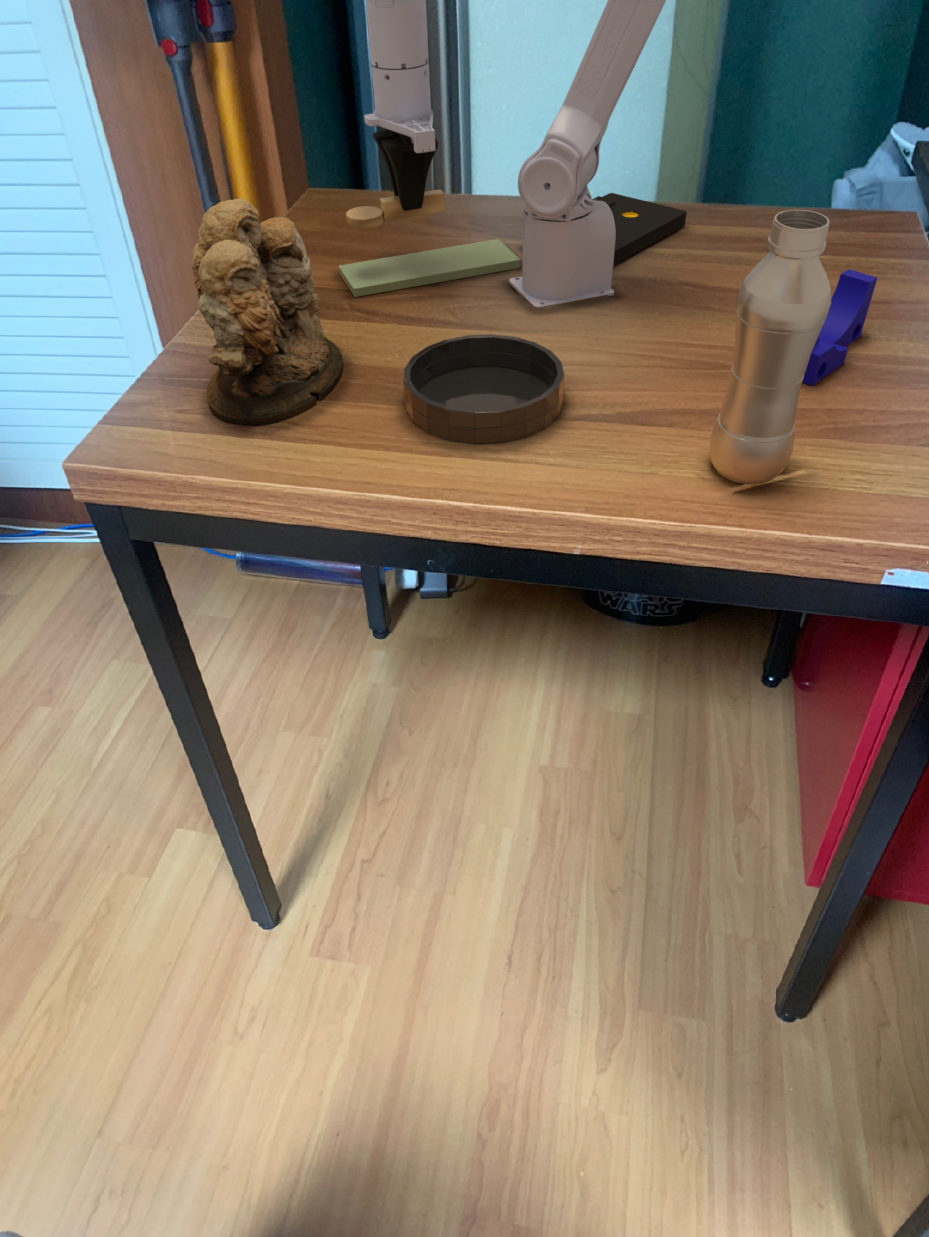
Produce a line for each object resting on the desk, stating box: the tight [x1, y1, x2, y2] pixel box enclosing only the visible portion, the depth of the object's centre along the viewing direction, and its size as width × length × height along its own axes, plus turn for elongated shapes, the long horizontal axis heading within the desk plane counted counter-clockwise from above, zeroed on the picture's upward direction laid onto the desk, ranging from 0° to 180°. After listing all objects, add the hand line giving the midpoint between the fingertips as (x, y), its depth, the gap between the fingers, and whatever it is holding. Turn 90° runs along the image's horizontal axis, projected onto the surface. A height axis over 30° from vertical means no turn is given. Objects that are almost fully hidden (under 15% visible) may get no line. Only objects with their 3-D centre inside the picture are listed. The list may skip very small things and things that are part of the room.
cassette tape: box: [592, 192, 688, 266], centre depth 109 cm, size 18×12×2 cm, turn 138°
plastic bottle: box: [709, 209, 832, 486], centre depth 66 cm, size 6×7×20 cm
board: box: [338, 238, 521, 298], centre depth 104 cm, size 20×7×1 cm, turn 110°
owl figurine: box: [191, 198, 344, 427], centre depth 79 cm, size 18×12×17 cm, turn 169°
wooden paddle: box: [345, 189, 446, 230], centre depth 97 cm, size 11×4×2 cm, turn 110°
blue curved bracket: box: [802, 268, 878, 387], centre depth 85 cm, size 12×4×6 cm, turn 134°
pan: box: [403, 333, 565, 445], centre depth 80 cm, size 14×14×4 cm
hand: (409, 205), depth 98 cm, fingers closed on wooden paddle, 1 cm apart
